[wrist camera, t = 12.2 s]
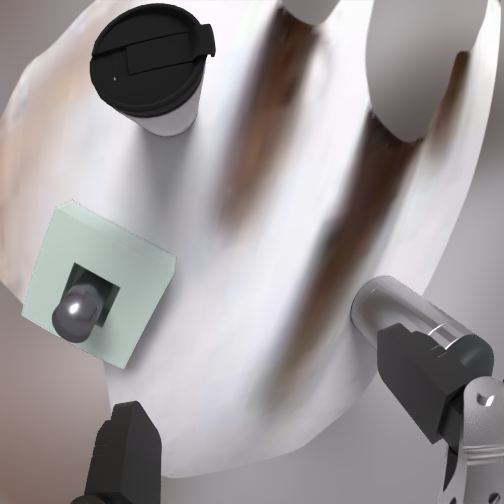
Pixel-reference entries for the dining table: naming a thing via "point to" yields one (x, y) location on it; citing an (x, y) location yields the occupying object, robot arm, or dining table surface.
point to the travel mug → (153, 66)
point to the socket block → (106, 266)
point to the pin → (81, 307)
